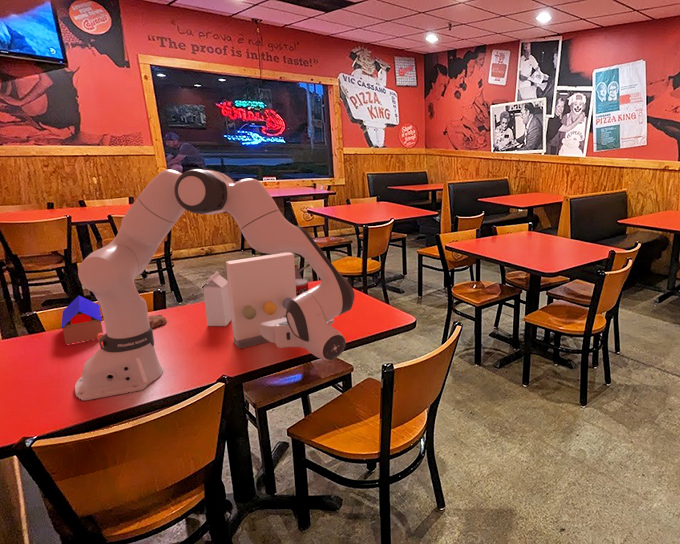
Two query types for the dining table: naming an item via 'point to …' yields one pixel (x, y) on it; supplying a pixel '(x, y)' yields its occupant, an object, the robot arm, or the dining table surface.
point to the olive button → (249, 312)
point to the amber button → (269, 308)
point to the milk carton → (217, 301)
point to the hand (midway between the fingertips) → (284, 317)
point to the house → (81, 321)
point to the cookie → (156, 320)
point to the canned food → (301, 286)
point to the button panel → (258, 292)
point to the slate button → (286, 302)
